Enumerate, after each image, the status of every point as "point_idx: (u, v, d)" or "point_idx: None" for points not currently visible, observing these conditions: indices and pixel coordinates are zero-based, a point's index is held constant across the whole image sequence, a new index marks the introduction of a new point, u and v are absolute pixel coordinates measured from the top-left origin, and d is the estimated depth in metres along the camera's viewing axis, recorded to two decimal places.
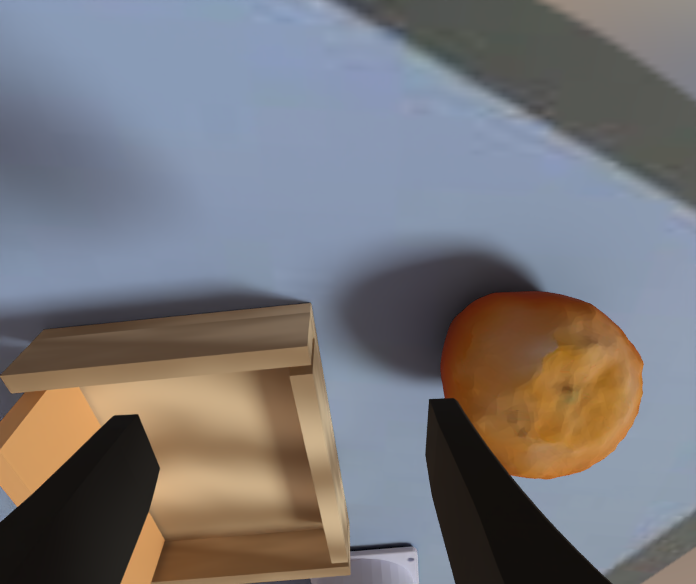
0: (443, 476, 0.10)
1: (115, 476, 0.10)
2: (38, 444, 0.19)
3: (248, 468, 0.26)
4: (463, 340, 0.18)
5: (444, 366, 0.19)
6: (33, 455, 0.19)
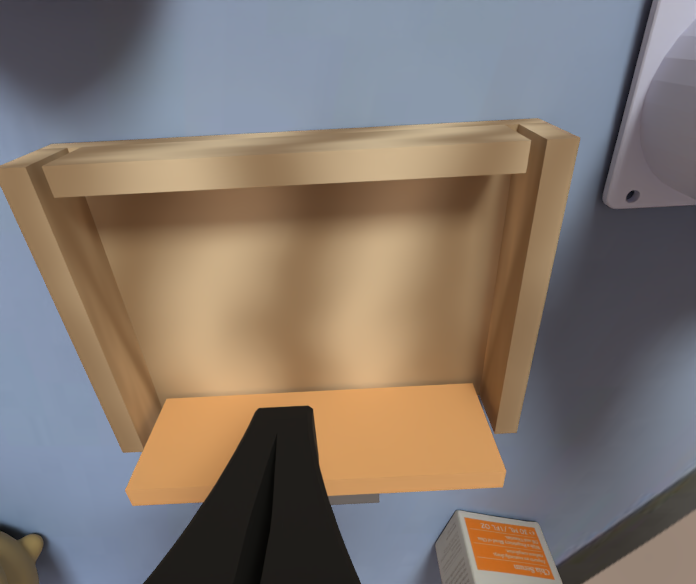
0: None
1: None
2: (173, 457, 0.19)
3: (339, 262, 0.18)
4: None
5: None
6: (172, 466, 0.18)
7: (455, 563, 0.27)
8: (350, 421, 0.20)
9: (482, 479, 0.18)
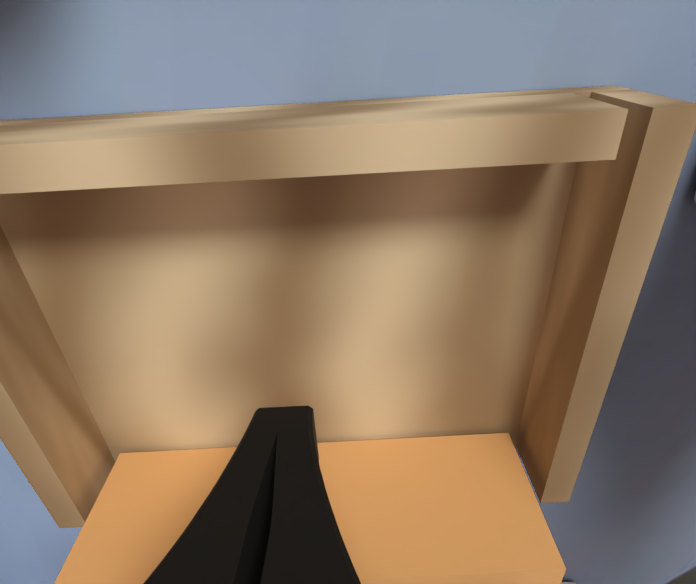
0: None
1: None
2: (118, 542, 0.14)
3: (338, 284, 0.14)
4: None
5: None
6: (116, 557, 0.14)
7: None
8: (353, 488, 0.15)
9: (533, 579, 0.13)
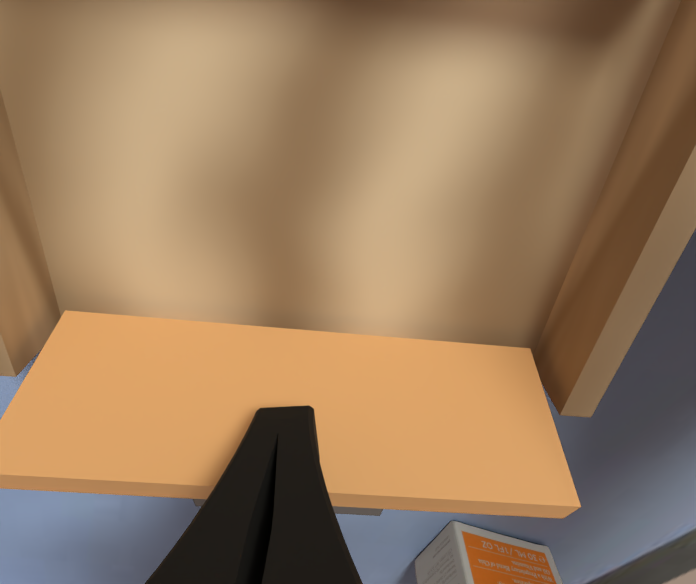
0: None
1: None
2: (61, 418, 0.12)
3: (379, 104, 0.11)
4: None
5: None
6: (58, 435, 0.11)
7: None
8: (350, 389, 0.13)
9: (540, 510, 0.12)
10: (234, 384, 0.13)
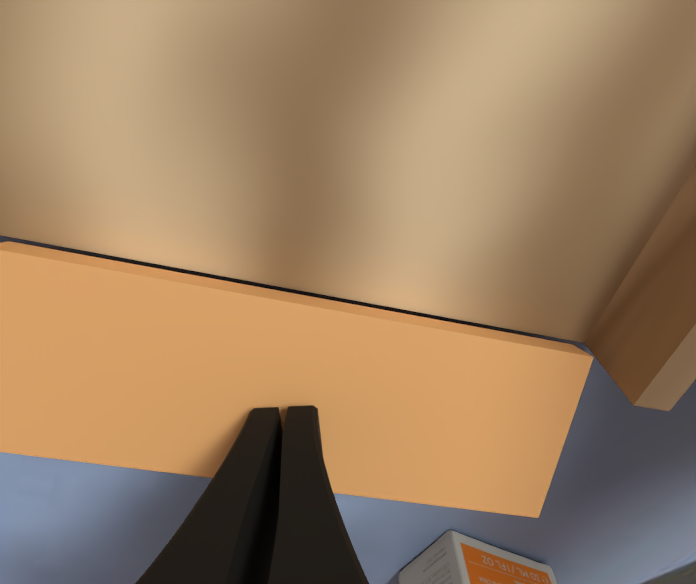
0: None
1: (271, 468, 0.10)
2: (38, 402, 0.11)
3: None
4: None
5: None
6: (43, 419, 0.11)
7: None
8: (356, 392, 0.11)
9: None
10: (223, 376, 0.11)
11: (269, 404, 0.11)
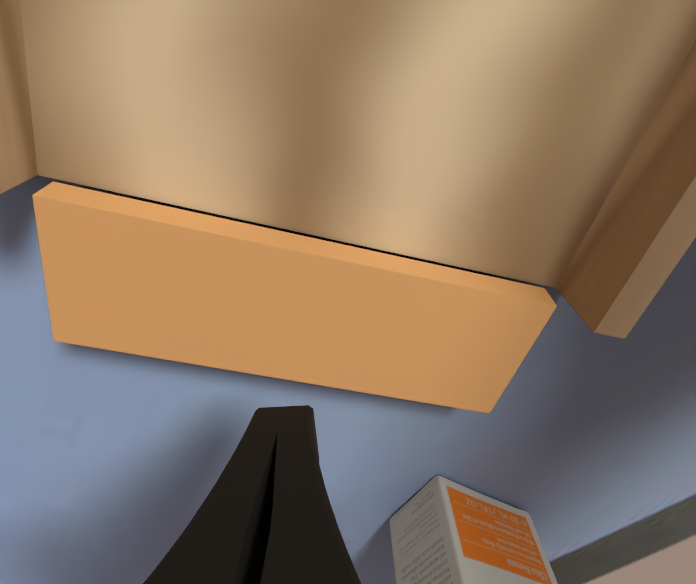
0: None
1: None
2: (98, 312, 0.14)
3: None
4: None
5: None
6: (103, 325, 0.14)
7: (424, 546, 0.19)
8: (350, 320, 0.14)
9: None
10: (242, 303, 0.13)
11: (279, 325, 0.14)
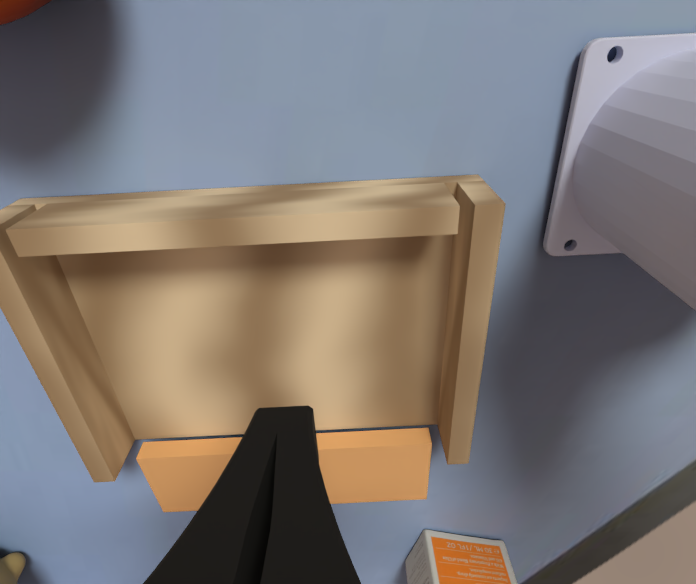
0: None
1: None
2: (182, 496, 0.24)
3: (296, 305, 0.19)
4: None
5: None
6: (186, 501, 0.25)
7: (421, 582, 0.28)
8: None
9: None
10: None
11: None
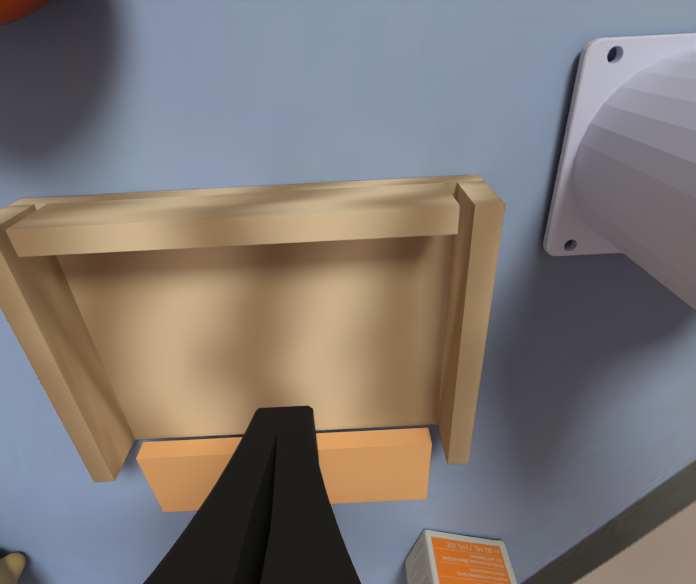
0: None
1: None
2: (182, 496, 0.24)
3: (296, 305, 0.19)
4: None
5: None
6: (186, 501, 0.25)
7: (421, 582, 0.28)
8: None
9: None
10: None
11: None
